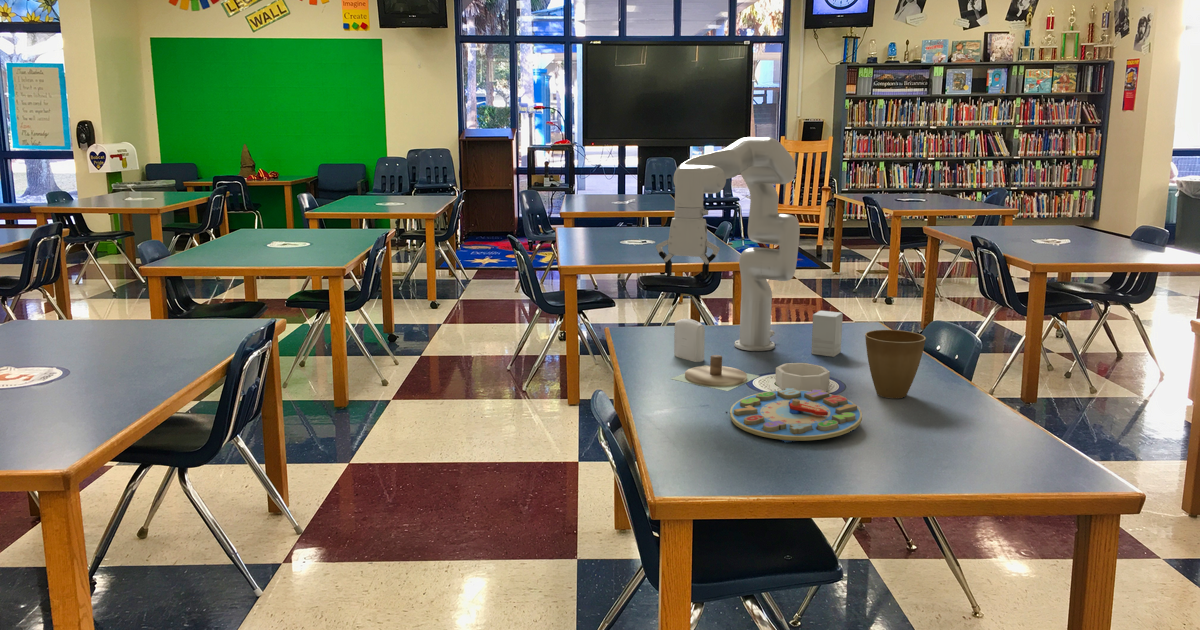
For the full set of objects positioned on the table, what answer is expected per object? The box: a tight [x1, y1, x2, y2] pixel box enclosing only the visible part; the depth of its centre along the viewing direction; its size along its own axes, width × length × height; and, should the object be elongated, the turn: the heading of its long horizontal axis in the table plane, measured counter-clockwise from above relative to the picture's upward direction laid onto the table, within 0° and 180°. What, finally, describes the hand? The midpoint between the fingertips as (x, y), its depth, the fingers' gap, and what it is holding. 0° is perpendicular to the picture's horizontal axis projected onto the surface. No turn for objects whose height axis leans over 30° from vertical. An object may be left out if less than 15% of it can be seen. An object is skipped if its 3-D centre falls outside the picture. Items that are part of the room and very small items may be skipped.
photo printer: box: [673, 318, 706, 363], centre depth 263 cm, size 10×4×12 cm, turn 39°
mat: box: [670, 364, 761, 392], centre depth 244 cm, size 18×18×1 cm
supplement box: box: [811, 310, 844, 358], centre depth 271 cm, size 7×7×13 cm
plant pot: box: [864, 329, 927, 399], centre depth 230 cm, size 15×15×16 cm
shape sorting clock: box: [729, 388, 863, 443], centre depth 209 cm, size 31×30×6 cm
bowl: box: [774, 362, 831, 392], centre depth 237 cm, size 13×13×5 cm
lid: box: [684, 354, 747, 386], centre depth 243 cm, size 17×17×6 cm
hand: (686, 277), depth 238 cm, fingers open, 9 cm apart
